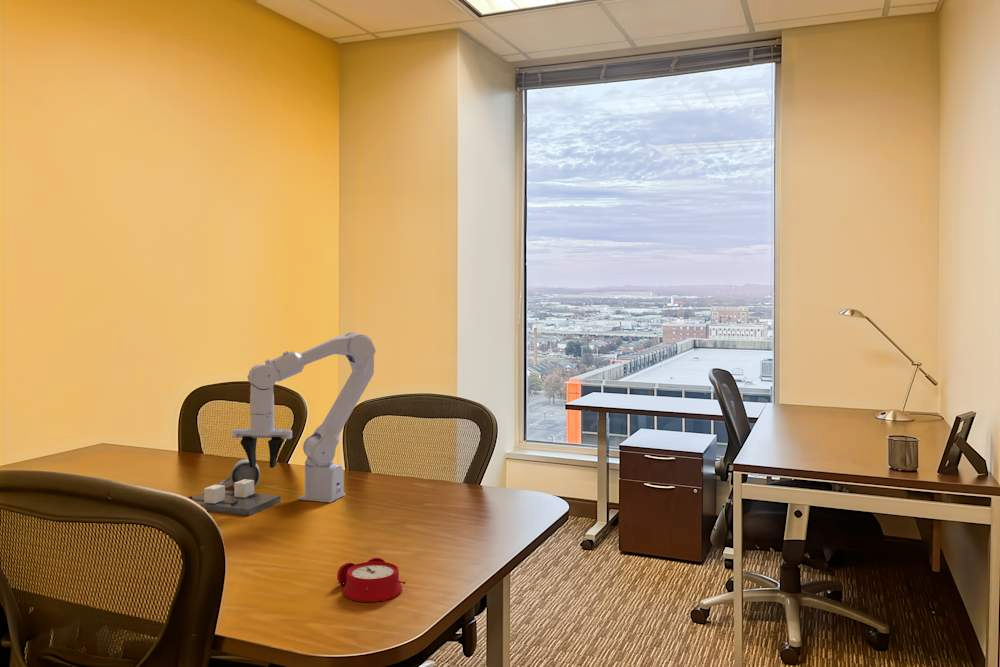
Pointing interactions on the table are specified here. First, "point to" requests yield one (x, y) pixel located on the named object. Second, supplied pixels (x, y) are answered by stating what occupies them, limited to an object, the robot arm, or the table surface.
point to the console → (238, 503)
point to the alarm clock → (370, 580)
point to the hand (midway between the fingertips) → (262, 466)
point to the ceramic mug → (242, 473)
